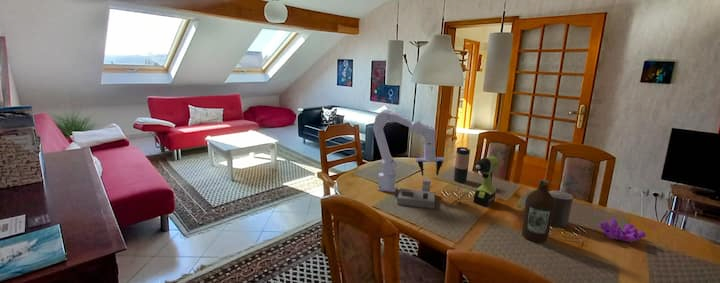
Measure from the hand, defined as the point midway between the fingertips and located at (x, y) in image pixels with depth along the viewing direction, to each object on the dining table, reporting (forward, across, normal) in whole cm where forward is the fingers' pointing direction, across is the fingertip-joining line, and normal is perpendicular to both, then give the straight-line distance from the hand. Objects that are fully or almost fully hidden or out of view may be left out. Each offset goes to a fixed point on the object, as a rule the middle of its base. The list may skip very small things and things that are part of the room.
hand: (429, 174), depth 170 cm
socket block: (+10, -8, -10) cm, 17 cm away
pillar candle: (+16, +53, -24) cm, 60 cm away
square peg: (+11, -2, 0) cm, 11 cm away
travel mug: (+12, +20, +22) cm, 33 cm away
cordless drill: (+13, +24, -9) cm, 29 cm away
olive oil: (+15, +38, -38) cm, 56 cm away
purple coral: (+18, +74, -35) cm, 83 cm away
